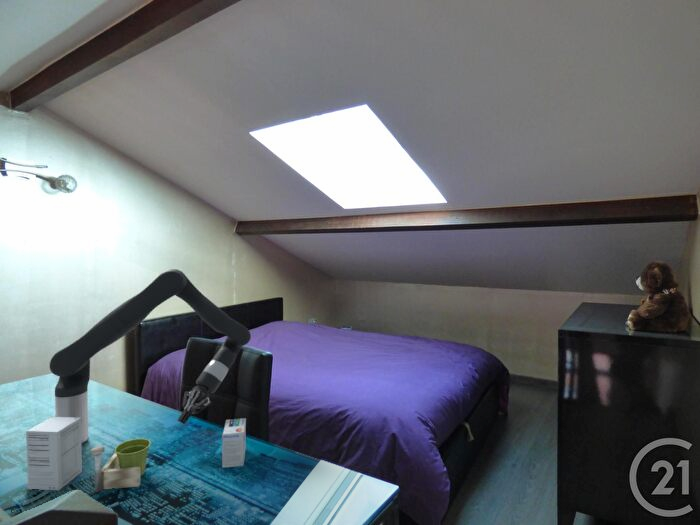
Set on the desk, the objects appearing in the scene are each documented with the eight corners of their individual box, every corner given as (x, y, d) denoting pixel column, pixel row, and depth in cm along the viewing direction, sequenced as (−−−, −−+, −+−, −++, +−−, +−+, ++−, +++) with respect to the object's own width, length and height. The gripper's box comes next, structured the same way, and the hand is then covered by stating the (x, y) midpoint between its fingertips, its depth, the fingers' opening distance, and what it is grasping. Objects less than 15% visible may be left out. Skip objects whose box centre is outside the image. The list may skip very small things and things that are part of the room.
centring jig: (80, 484, 111) (80, 443, 111) (117, 468, 120) (117, 430, 119) (104, 503, 103) (103, 459, 103) (142, 484, 111) (141, 444, 111)
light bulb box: (225, 450, 130) (225, 419, 130) (246, 448, 132) (246, 417, 131) (221, 468, 120) (221, 434, 120) (244, 466, 121) (244, 432, 121)
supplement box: (53, 470, 118) (52, 415, 117) (83, 471, 118) (82, 416, 117) (26, 490, 108) (24, 430, 108) (58, 491, 108) (57, 431, 107)
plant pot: (126, 465, 121) (126, 438, 121) (156, 465, 121) (156, 438, 121) (107, 483, 112) (107, 453, 111) (140, 483, 112) (140, 454, 111)
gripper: (194, 367, 140) (162, 412, 130) (218, 374, 132) (184, 422, 122) (207, 377, 144) (177, 422, 135) (230, 385, 137) (200, 432, 127)
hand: (180, 422), depth 129 cm, fingers closed
